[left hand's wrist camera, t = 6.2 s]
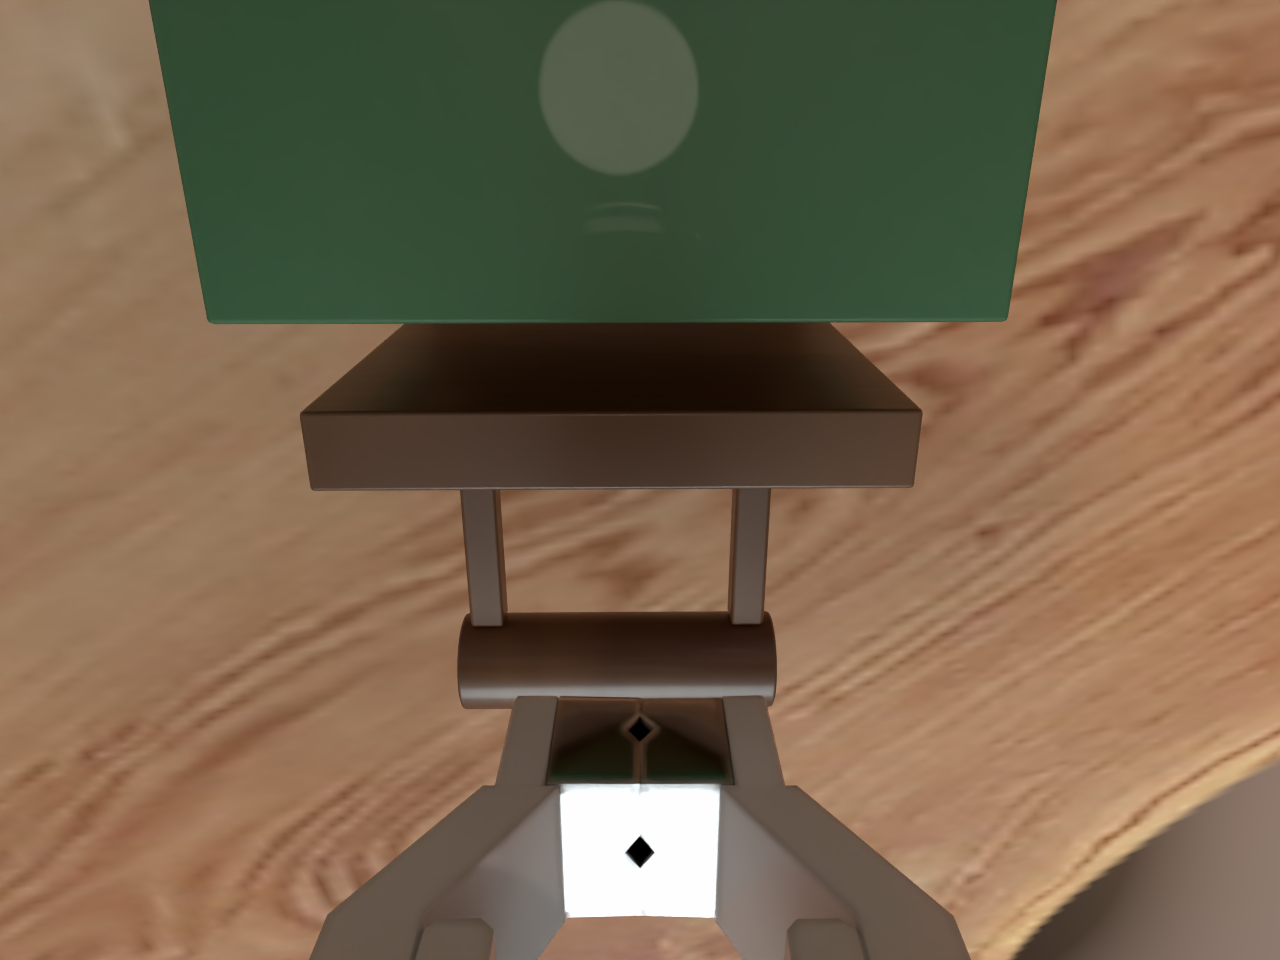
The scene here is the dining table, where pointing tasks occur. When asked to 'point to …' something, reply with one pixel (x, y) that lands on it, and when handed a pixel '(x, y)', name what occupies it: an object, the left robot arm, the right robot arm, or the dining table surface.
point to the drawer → (613, 472)
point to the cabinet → (604, 158)
